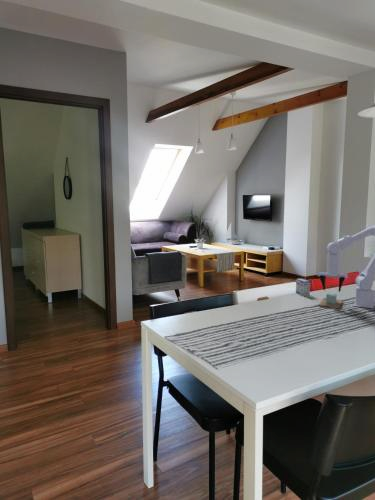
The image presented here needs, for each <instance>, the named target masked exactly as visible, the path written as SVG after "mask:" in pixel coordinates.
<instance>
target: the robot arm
mask: <svg viewBox="0 0 375 500" xmlns="http://www.w3.org/2000/svg"><path fill="white" fill-rule="evenodd" d="M370 236H373V237H375V224H373V225H371V226H369V227H367V228H365V229H363V230H362V231H359V232H358V233H356V234H353V235H343V236H342V238H339V239H336V240H334V241H332V242H329V243H328V244H327V246H326V251H327V258H326V271H320V272H319V271H318V272H317V277H319V280H320V282H321V285H322V290H323V291H325V290H326V278H337V279H338V278H339V279H338V292H339V293H340V292H341V289H342V286H343V283H344V281H345V280H346V279H348V274H347V273H341V272H339V269H340V267H339V266H340V265H339V263H340V253H341V251H344V250H345V249H349V248H350V247H352V246H354V245H355V243H356V242H358V241H359V240H362V239H365V238H368V237H370ZM354 280H355V282H354V283H355V284H356V286H355V299H354V303H353V306H354V307H359V308H367V309H374V308H375V290H374V289H372V287H373V283H374V280H375V252H374V253H373V256H372V257H371V258H370V260H369V262H368V264H367V265H366V267H365V269H364V270H362V271H361V273H360V274H359V275H357V276H356V277H355V279H354Z"/></svg>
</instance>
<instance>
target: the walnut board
mask: <svg viewBox="0 0 375 500" xmlns="http://www.w3.org/2000/svg"><path fill="white" fill-rule="evenodd" d="M343 302H344V301H343V300H342V299H336V303H335V304H330V303H326V298H322V299H321V301H320V303H319V305H318V306H319V307H321V308H330V309H338V310H340V309H341V306H342V305H343Z"/></svg>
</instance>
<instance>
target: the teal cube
mask: <svg viewBox="0 0 375 500" xmlns="http://www.w3.org/2000/svg"><path fill="white" fill-rule="evenodd" d="M325 297H326V303H330V304H335V303H336V300H337V297H338V296H337V293H330V292H327V293H326V295H325Z"/></svg>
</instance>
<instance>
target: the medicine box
mask: <svg viewBox="0 0 375 500" xmlns="http://www.w3.org/2000/svg"><path fill="white" fill-rule="evenodd" d="M310 292H311V281H310V280H307V279H304V278H296V284H295V293H296V294H297V295H300V294H301V295H300V296H302V295H303V297H305V296H306V297H307V296H310V295H311V293H310Z"/></svg>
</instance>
